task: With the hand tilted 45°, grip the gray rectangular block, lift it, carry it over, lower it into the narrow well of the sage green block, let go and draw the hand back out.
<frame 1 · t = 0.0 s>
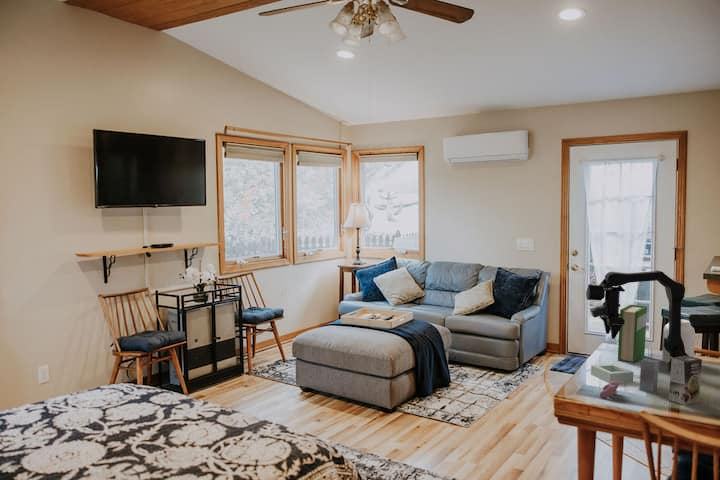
hand: (610, 336, 242), 15 cm above the table, tool pointing down, fingers open, 9 cm apart
gray rectangular block: (648, 390, 215), on the table
coffee box: (684, 401, 204), on the table
well block: (611, 377, 230), on the table
hardback book: (631, 358, 261), on the table
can: (677, 363, 254), on the table
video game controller: (609, 396, 209), on the table
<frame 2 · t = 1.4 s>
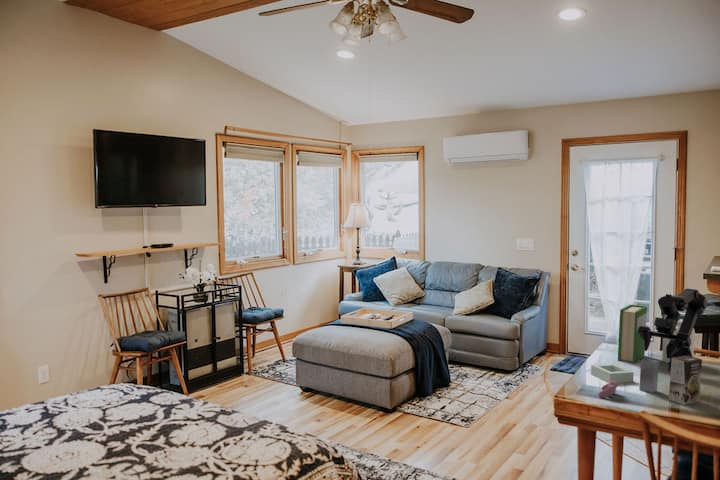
hand: (657, 353, 220), 13 cm above the table, tool tilted 45°, fingers open, 9 cm apart
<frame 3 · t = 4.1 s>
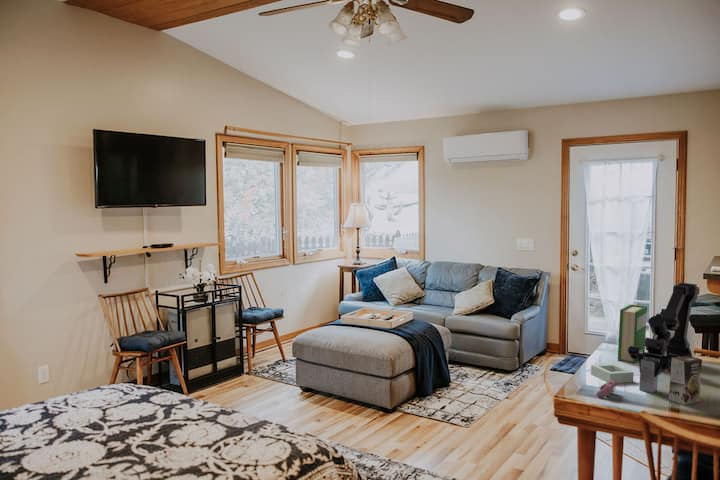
hand: (647, 374, 214), 7 cm above the table, tool tilted 45°, fingers closed on gray rectangular block, 5 cm apart
gray rectangular block: (648, 390, 215), on the table, touching gripper
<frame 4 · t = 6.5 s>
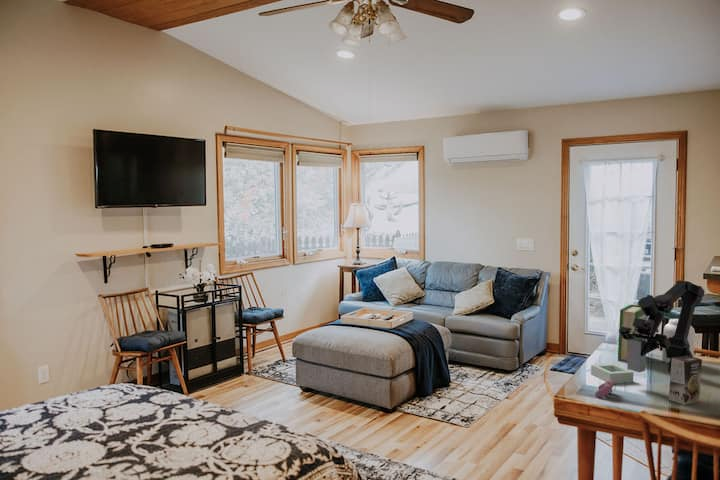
hand: (634, 354, 218), 13 cm above the table, tool tilted 45°, fingers closed on gray rectangular block, 5 cm apart
gray rectangular block: (636, 369, 219), point 7 cm above the table, touching gripper
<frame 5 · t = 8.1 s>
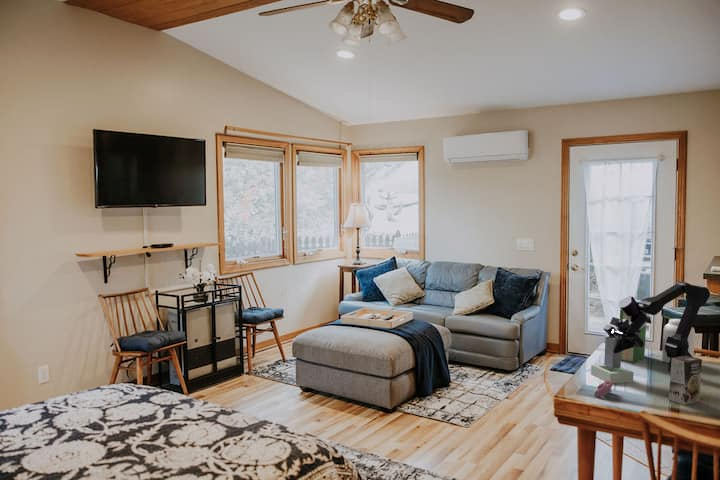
hand: (610, 351, 229), 12 cm above the table, tool tilted 45°, fingers closed on gray rectangular block, 5 cm apart
gray rectangular block: (612, 366, 230), point 5 cm above the table, touching gripper
when the fingers open (8 cm above the table, at t = 9.2 s): gray rectangular block drops 1 cm, resting in well block.
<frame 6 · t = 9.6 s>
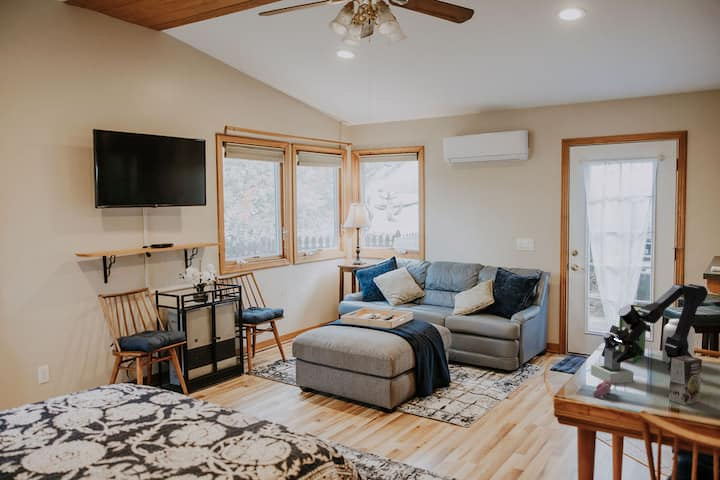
hand: (609, 359, 229), 8 cm above the table, tool tilted 45°, fingers open, 9 cm apart
gray rectangular block: (611, 378, 230), resting in well block
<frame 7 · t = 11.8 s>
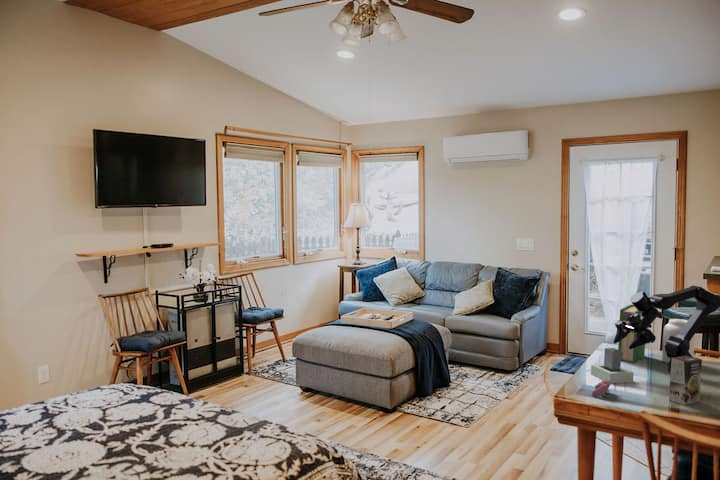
hand: (621, 345, 230), 14 cm above the table, tool tilted 45°, fingers open, 9 cm apart
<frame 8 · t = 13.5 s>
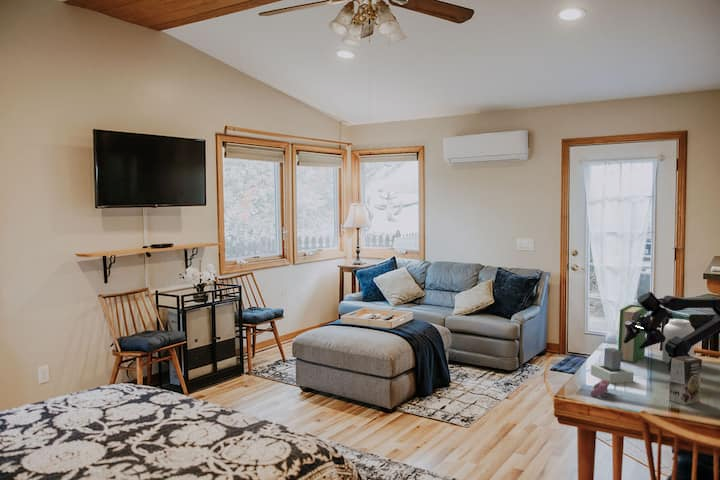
hand: (631, 345, 234), 13 cm above the table, tool tilted 45°, fingers open, 9 cm apart
at the end: gray rectangular block 0.0 cm off-centre on the well block, point 0.0 cm above the well block's base; gray rectangular block tilted 0°; the gripper is holding nothing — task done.
